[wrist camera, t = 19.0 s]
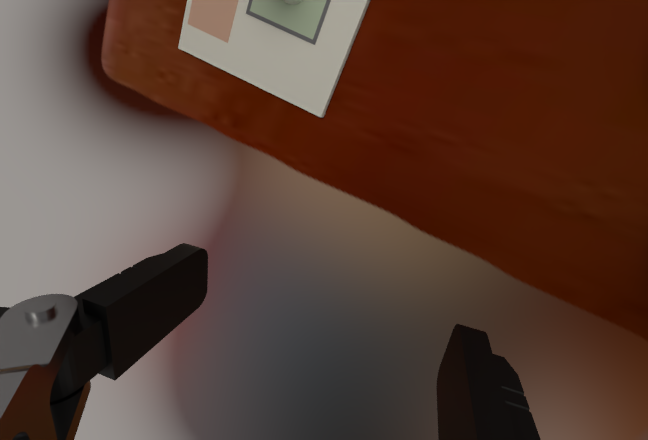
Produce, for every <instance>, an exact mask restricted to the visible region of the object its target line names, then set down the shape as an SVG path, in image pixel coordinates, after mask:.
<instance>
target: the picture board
mask: <svg viewBox="0 0 648 440" xmlns="http://www.w3.org/2000/svg"><path fill="white" fill-rule="evenodd" d="M369 2H370V0H303V1H302V2H300V3H299V4H295V5H291V4H288V3H286V2H284V1H283V0H187V5H186V10H185V15H184V20H183V26H182V31H181V36H180V41H179V47H178V48H179V49H181V50H183V51H185V52H187V53H189V54H191V55H193V56H195V57H197V58H199V59H201V60H204V61H206V62H208V63H210V64H212V65H214V66H216V67H218V68H220V69H222V70H224V71H226V72H228V73H230V74H232V75H234V76H236V77H238V78H240V79H243V80H245V81H247V82H249V83H251V84H253V85H255V86H257V87H259V88H261V89H263V90H265V91H267V92H269V93H271V94H273V95H275V96H277V97H280V98H282V99H284V100H286V101H288V102H290V103H292V104H294V105H296V106H298V107H300V108H302V109H304V110H306V111H308V112H310V113H312V114H314V115H317V116H319V117H321V118H323V117H324V115H325V112H326V110H327V107H328V105H329V102H330V100H331V97H332V95H333V92H334V90H335V87H336V85H337V82H338V80H339V77H340V75H341V72H342V70H343V67H344V65H345V62H346V60H347V57H348V55H349V52H350V50H351V47H352V45H353V42H354V40H355V37H356V35H357V32H358V30H359V27H360V25H361V22H362V20H363V17H364V15H365V12H366V10H367V7H368V5H369Z"/></svg>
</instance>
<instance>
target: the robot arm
mask: <svg viewBox="0 0 648 440" xmlns="http://www.w3.org/2000/svg"><path fill="white" fill-rule="evenodd" d="M207 274H208V254H207V251H206V250H205V249H202V248H199V247H195V246H192V245H189V244H185V243H183V244H180V245H178V246H176V247H174V248H173V249H171V250H169V251H167V252H165V253H163V254H159V255H156V256H152V257H149V258H146V259H144V260H142V261H141V262H139V263H137V264H135V265H133V267H129V268H127V269H126V270H124V271H122V272H121V274H119V273H118V274H116V275H114V276H112V277H110V278H109V279H107V280H105V281H103V282H101V283H100V284H97V285H95V286H94V287H92V288H90V289H88V290H86V291H84V292H82V293H80V294H79V295H77V296H75V297H72V296H69V295H63V294H49V295H43V296H38V297H34V298H31V299H28V300H25V301H23V302H20V303H18V304H16V305H14V306H13V307H11V308H7V307H0V440H74V438H75V435H76V432H77V429H78V426H79V423H80V420H81V417H82V413H83V411H84V407H85V404H86V401H87V398H88V395H89V392H90V388H91V383H90V380H91V379H92V378H93V377H94V376H96V375H97V374H98V373H99V374H101V375H103V376H106V377H108V378H110V379H113V380H116V379H117V378H118V377H120V376H121V375H122V374H123V373H124V372H125V371H126V370H128V369H129V368H130V367H131V366H132V365H133V364H134V363H135V362H137V361H138V360H139V359H140V358H141V357H142V356H144V355H145V354H146V353H147V352H148V351H149V350H151V349H152V348H153V347H154V346H155V345H156V344H157V343H159V342H160V341H161V340H162V339H163V338H164V337H165V336H166V335H168V334H169V333H170V332H171V331H172V330H173V329H174V328H176V327H177V326H178V325H179V324H180V323H181V322H183V320H185V319H186V318H187V317H188V316H189V315H191V314H192V313H193V312H194V311H195V310H196V309H197V308H199V307H200V305H201V304H202V302H203V301H204V299H205V297H206V293H207V278H208V277H207V276H208V275H207ZM437 411H438V436H439V440H540V437H539V434H538V431H537V429H536V426H535V423H534V420H533V417H532V414H531V412H529V405H528V403H527V400H526V397H525V396H524V391H523V388H522V385H521V382H520V380H519V377H518V374H517V373H516V372H515V371H514V369H513V368H512V367H511V366H510V364H509V363H508V362H507V360H506V359H505V358H504V357H501V356H498V355H495V354H492V350H491V347H490V343H489V339H488V336H487V334H486V332H484V331H480V330H477V329H473V328H470V327H466V326H463V325H459V324H456V325H455V327H454V329H453V331H452V334H451V337H450V340H449V342H448V345H447V348H446V351H445V353H444V356H443V359H442V362H441V364H440V368H439V372H438V378H437Z"/></svg>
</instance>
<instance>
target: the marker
mask: <svg viewBox="0 0 648 440" xmlns="http://www.w3.org/2000/svg"><path fill="white" fill-rule="evenodd" d="M283 1H284V2H286V3H288V4H291V5H295V4H299V3H300V2H302V1H303V0H283Z"/></svg>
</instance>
